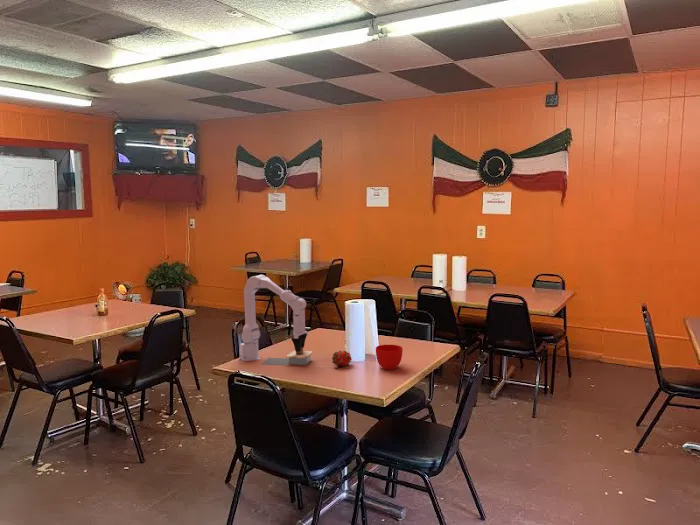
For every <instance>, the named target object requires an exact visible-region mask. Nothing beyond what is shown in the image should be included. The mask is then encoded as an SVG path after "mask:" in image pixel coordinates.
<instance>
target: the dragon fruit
mask: <svg viewBox="0 0 700 525" xmlns="http://www.w3.org/2000/svg"><path fill="white" fill-rule="evenodd" d="M331 358H332V362H331V363H332V364H334V366H337V367H338V368H340V367H344V368H345V367H348V366H349V365H350V363H351V361H352V357H351V354H350V352H347V350H339V351H335V352H334V353H333V354H332V357H331Z"/></svg>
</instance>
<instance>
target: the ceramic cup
mask: <svg viewBox="0 0 700 525" xmlns="http://www.w3.org/2000/svg"><path fill="white" fill-rule="evenodd" d="M375 356H376V361H377V362H378V365H379V366H380V368H382V369H383V370H385V369H386V371H393V370H396V369H397V367H398V366H399V365H400V363H401V361H402V358H403V346H401V345H398V344H380V345H377V346H375ZM395 368H396V369H395ZM392 369H393V370H392Z"/></svg>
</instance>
